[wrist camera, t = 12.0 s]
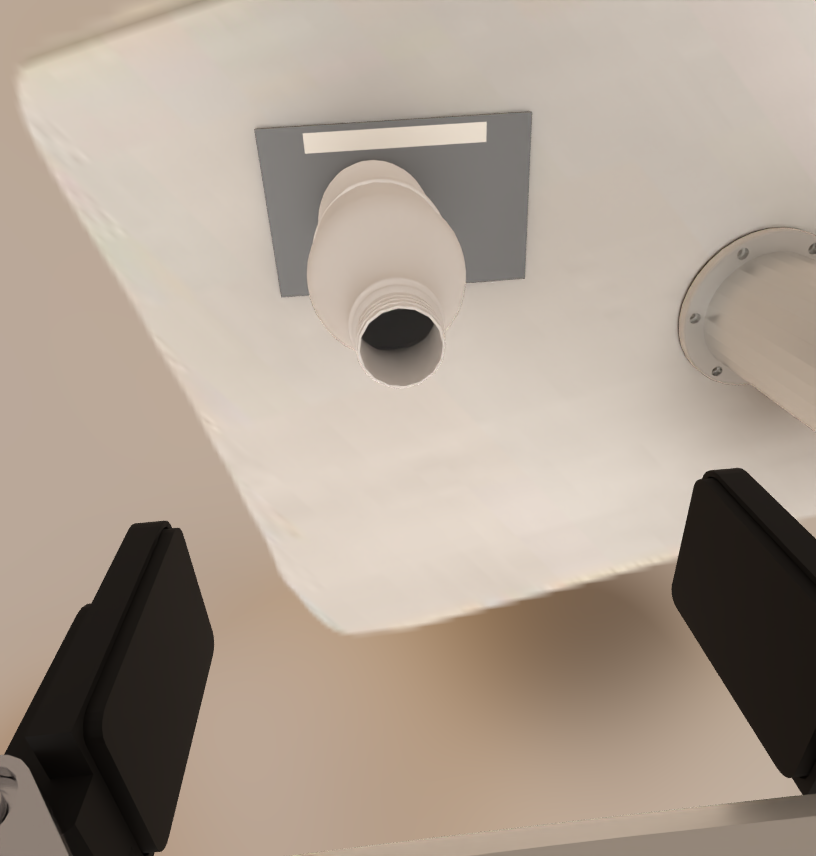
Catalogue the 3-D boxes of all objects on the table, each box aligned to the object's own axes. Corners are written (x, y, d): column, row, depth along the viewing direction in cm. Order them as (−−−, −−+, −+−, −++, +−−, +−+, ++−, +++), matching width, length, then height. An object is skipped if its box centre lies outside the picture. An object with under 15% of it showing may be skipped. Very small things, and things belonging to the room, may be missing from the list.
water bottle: (313, 161, 40) (272, 249, 18) (421, 150, 40) (509, 226, 18) (328, 269, 43) (310, 452, 22) (427, 259, 44) (508, 430, 22)
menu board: (529, 111, 40) (532, 111, 39) (522, 276, 45) (524, 278, 45) (255, 128, 39) (254, 129, 39) (282, 294, 45) (281, 297, 44)
